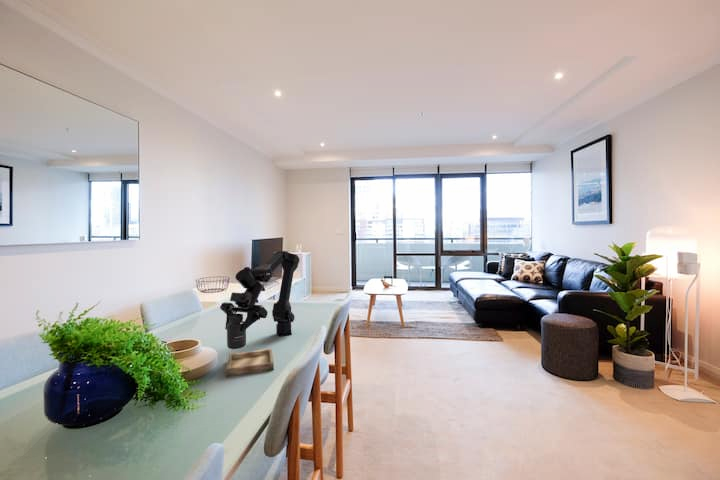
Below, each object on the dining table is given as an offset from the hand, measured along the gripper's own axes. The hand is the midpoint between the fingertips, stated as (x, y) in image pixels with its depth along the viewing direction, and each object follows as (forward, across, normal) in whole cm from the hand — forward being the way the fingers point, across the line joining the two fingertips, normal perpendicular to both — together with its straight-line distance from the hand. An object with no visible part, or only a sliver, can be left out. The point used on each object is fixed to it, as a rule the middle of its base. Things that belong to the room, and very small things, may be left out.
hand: (234, 330), depth 118 cm
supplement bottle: (+4, 0, +6) cm, 7 cm away
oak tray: (+8, +6, +10) cm, 15 cm away
